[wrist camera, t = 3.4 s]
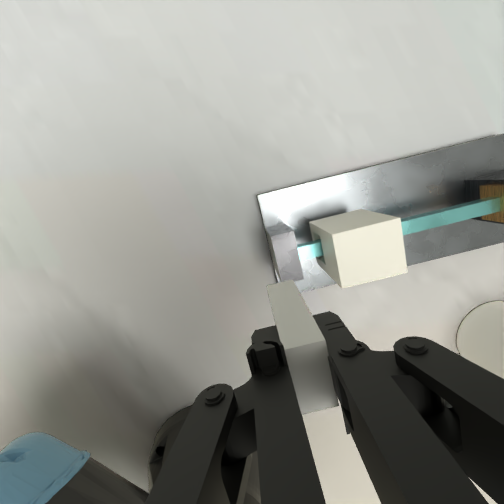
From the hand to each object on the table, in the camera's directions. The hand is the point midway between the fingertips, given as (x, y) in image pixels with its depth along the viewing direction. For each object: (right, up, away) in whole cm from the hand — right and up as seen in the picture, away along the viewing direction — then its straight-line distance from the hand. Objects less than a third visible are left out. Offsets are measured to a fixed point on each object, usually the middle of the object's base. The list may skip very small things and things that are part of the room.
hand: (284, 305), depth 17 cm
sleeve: (+6, +4, +12) cm, 15 cm away
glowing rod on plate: (+12, +7, +16) cm, 21 cm away
